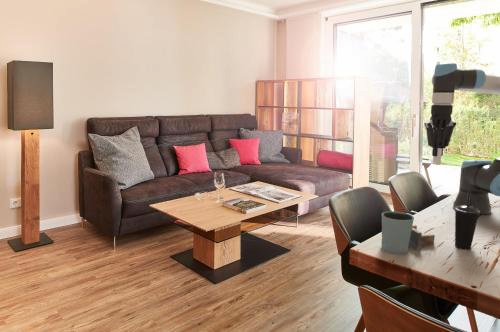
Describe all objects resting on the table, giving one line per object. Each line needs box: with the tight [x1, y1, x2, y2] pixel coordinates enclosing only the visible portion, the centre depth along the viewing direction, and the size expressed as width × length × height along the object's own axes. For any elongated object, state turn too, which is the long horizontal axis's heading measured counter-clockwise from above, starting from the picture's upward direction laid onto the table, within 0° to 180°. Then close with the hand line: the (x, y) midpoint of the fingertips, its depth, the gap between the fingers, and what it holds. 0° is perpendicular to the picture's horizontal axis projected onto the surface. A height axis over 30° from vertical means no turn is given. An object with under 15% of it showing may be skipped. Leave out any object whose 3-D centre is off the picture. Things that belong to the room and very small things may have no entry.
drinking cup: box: [454, 191, 480, 251], centre depth 136 cm, size 8×8×20 cm
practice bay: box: [409, 224, 436, 251], centre depth 142 cm, size 9×14×6 cm, turn 13°
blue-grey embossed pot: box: [381, 210, 415, 255], centre depth 135 cm, size 10×10×12 cm
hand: (436, 164), depth 158 cm, fingers closed
